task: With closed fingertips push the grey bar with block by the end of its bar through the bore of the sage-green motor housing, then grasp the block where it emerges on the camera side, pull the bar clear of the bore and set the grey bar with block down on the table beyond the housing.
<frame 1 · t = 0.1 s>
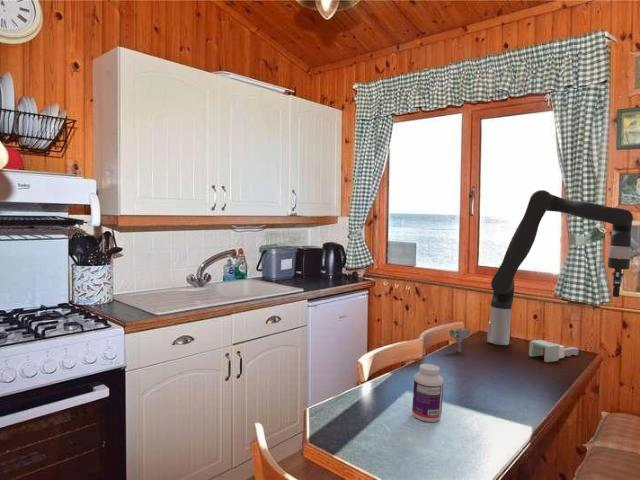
hand: (615, 295, 185), 29 cm above the table, fingers open, 8 cm apart
mechanical component: (458, 352, 192), on the table
housing: (543, 358, 189), on the table
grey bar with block: (555, 356, 192), on the table
pill bottle: (426, 417, 124), on the table
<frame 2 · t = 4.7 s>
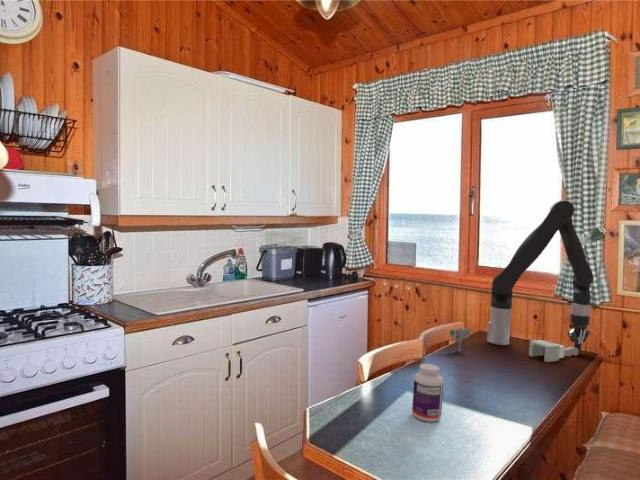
hand: (577, 351, 199), 1 cm above the table, fingers closed
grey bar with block: (555, 356, 192), on the table, touching gripper
everything else where it was.
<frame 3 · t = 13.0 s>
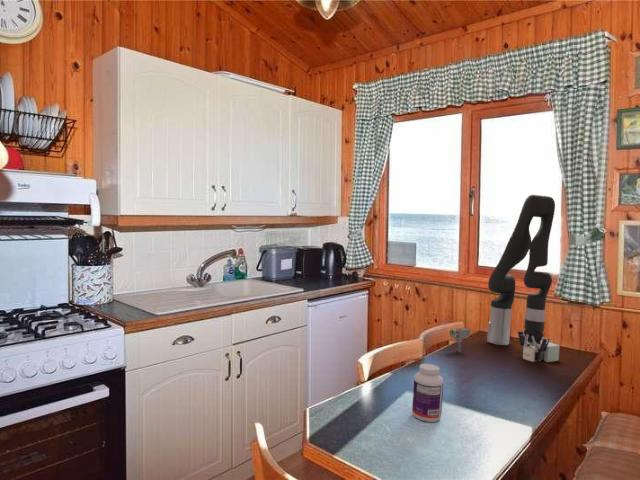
hand: (531, 358, 186), 0 cm above the table, fingers closed on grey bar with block, 4 cm apart
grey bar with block: (531, 359, 186), on the table, touching gripper
everything else where it was.
when the fingers open (1 cm above the table, at t = 19.7 s): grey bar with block stays where it is, on the table.
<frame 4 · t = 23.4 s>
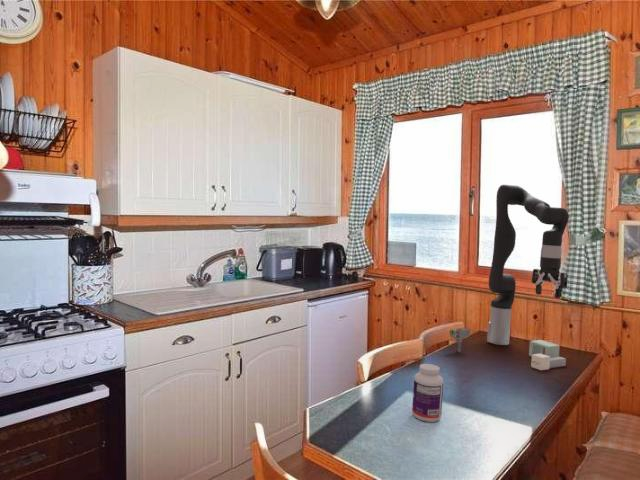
hand: (547, 296, 179), 28 cm above the table, fingers open, 8 cm apart
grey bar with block: (540, 367, 175), on the table
everything else where it was.
at the end: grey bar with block inside the target area (0.2 cm from its centre), on the table; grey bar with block touching table; the gripper is holding nothing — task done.
